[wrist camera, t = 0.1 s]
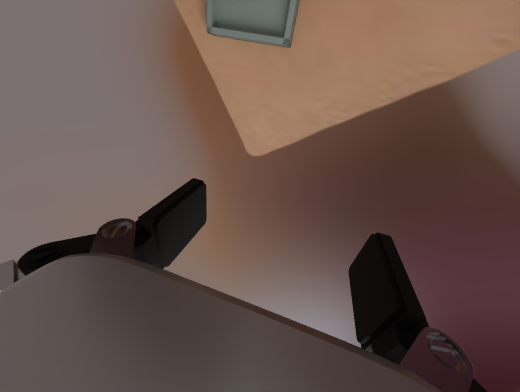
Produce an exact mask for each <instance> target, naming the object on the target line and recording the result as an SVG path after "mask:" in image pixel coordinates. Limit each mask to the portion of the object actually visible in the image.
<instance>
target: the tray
mask: <svg viewBox="0 0 520 392" xmlns="http://www.w3.org/2000/svg"><path fill="white" fill-rule="evenodd" d="M298 5H299V0H207V33H209V34H212V35H214V36H220V37H226V38H232V39H238V40H244V41H250V42H256V43H263V44H269V45H275V46H281V47H287V48H290V47H291V42H292V36H293V31H294V26H295V21H296V16H297V11H298Z"/></svg>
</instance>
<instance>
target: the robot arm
mask: <svg viewBox="0 0 520 392" xmlns="http://www.w3.org/2000/svg"><path fill="white" fill-rule="evenodd" d="M138 218H139V219H138V220H137V221H136V222H134V221H133V220H131V219H126V218H120V219H115V220H112V221H109V222H107V223H105V224H104V225H102V226H101V227H100V228H99V230H98V231H97V233H96V234H92V235H88V236H82V237H77V238H72V239H66V240H62V241H56V242H51V243H47V244H43V245H40V246H38V247H36V248H33V249H32V250H30V251H28V252H27V253H26V254H24V255H23V256H22V257H21V258H20V259H19V261H18V262H15V261H14V260H11V261H8V262H5V263H2V264H0V392H487V391H486V390H485V389H484V388H483V387H482V386H481V385H480V384H479V383H478V382H477V381H476V380H475V379H474V378H473V377H474V369H473V366H472V363H471V361H470V359H469V358H468V356H467V354H466V353H465V351H464V350H463V349H462V348H461V346H460V345H459V344H458V343H457V342H456V341H455V340H453V339H452V338H451V337H450V336H448V335H447V334H446V333H444V332H442V331H440V330H439V329H436V328H432V327H429V325H428V323H427V321H426V317H425V315H424V312H423V310H422V308H421V305H420V303H419V301H418V299H417V296H416V294H415V291H414V289H413V287H412V284H411V282H410V280H409V277H408V275H407V273H406V271H405V268H404V266H403V263H402V261H401V259H400V256H399V254H398V252H397V249H396V247H395V245H394V242H393V240H392V238H391V237H390V236H388V235H384V234H381V233H376V234H372V235H371V236H370V237H369V239H368V240H367V242H366V243H365V245H364V246H363V248H362V249H361V251H360V252H359V254H358V255H357V257H356V258H355V260H354V261H353V263H352V264H351V266H350V268H349V279H350V287H351V295H352V303H353V312H354V320H355V328H356V336H357V340H358V342H359V343H361V348H360V347H357V346H355V345H352V344H350V343H348V342H345V341H343V340H341V339H338V338H336V337H333V336H331V335H328V334H326V333H323V332H321V331H318V330H316V329H313V328H311V327H308V326H306V325H303V324H301V323H298V322H296V321H293V320H291V319H289V318H286V317H283V316H281V315H279V314H276V313H273V312H271V311H268V310H266V309H263V308H261V307H258V306H256V305H253V304H251V303H248V302H245V301H243V300H241V299H238V298H236V297H233V296H230V295H228V294H225V293H223V292H220V291H218V290H215V289H213V288H210V287H207V286H205V285H202V284H200V283H197V282H195V281H192V280H189V279H187V278H184V277H182V276H179V275H177V274H174V273H172V272H169V271H166V270H163V268H164V267H165V266H166V267H167V266H169V265H170V264H171V263H172V261H173V260H174V259H175V258H176V257H177V256H178V255H179V253H180V252H181V251H182V250H183V249H184V247H185V246H186V245H187V244H188V243H189V242H190V240H191V239H192V238H193V237H194V236H195V235H196V234H197V232H198V231H199V230H200V229H201V228H202V227H203V225H204V224H205V222H206V184H204V182H203V181H202V180H198V179H195V178H193V179H191V180H190V181H188V182H187V183H186V184H184V185H183V186H182V187H180V188H179V189H177V190H176V191H174V192H173V193H172V194H170V195H169V196H167V197H166V198H165V199H163V200H162V201H160V202H159V203H158V204H157V205H155V206H153V207H152V208H151V209H149V210H148V211H147V212H145V213H144V214H142V215H141V216H140V217H138Z"/></svg>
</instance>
